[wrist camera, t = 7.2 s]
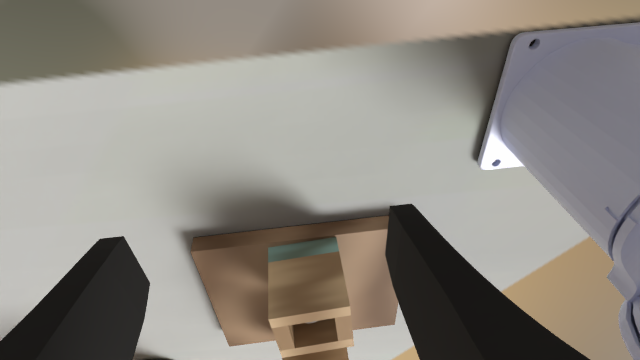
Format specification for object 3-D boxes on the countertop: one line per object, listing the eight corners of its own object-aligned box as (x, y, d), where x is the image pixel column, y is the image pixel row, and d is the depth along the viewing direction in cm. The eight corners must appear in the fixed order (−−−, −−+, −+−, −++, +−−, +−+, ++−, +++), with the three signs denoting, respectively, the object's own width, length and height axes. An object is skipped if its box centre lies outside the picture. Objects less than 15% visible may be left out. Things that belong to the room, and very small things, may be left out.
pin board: (404, 213, 24) (432, 277, 20) (390, 311, 32) (408, 372, 28) (193, 237, 23) (178, 309, 19) (230, 332, 31) (225, 398, 27)
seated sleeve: (338, 300, 28) (349, 366, 24) (338, 330, 30) (349, 394, 27) (280, 307, 27) (283, 376, 23) (286, 336, 30) (289, 402, 26)
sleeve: (336, 236, 23) (350, 306, 19) (340, 278, 26) (353, 345, 22) (268, 247, 23) (268, 319, 19) (280, 287, 26) (282, 357, 22)
